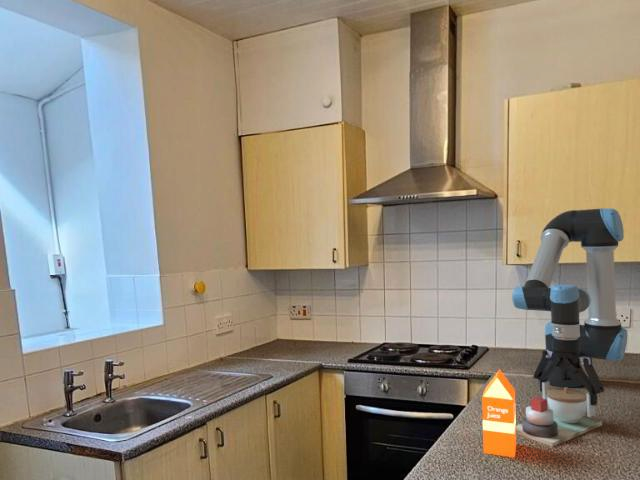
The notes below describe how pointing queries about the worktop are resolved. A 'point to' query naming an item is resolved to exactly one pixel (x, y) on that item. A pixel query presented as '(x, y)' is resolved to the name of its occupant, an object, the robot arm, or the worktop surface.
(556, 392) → the lidded jar
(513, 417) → the orange juice
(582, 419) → the game board
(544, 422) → the dome
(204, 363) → the worktop surface
